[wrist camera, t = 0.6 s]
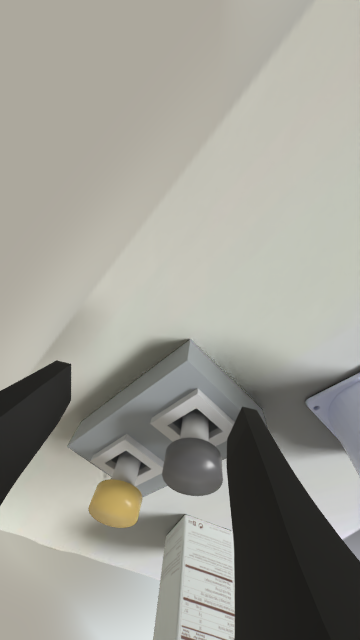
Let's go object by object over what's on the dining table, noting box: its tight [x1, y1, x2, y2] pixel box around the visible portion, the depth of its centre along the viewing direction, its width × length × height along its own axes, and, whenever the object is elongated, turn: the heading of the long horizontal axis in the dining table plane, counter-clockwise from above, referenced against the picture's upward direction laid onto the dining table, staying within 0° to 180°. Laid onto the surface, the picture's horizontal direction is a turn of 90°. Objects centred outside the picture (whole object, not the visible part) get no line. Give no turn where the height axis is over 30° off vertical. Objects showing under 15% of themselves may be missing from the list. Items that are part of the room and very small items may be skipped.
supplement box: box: [153, 515, 235, 640], centre depth 28 cm, size 7×7×13 cm
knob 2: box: [162, 409, 223, 496], centre depth 18 cm, size 4×4×5 cm
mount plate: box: [67, 339, 267, 497], centre depth 22 cm, size 10×16×4 cm, turn 134°
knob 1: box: [89, 451, 142, 528], centre depth 21 cm, size 4×4×5 cm
